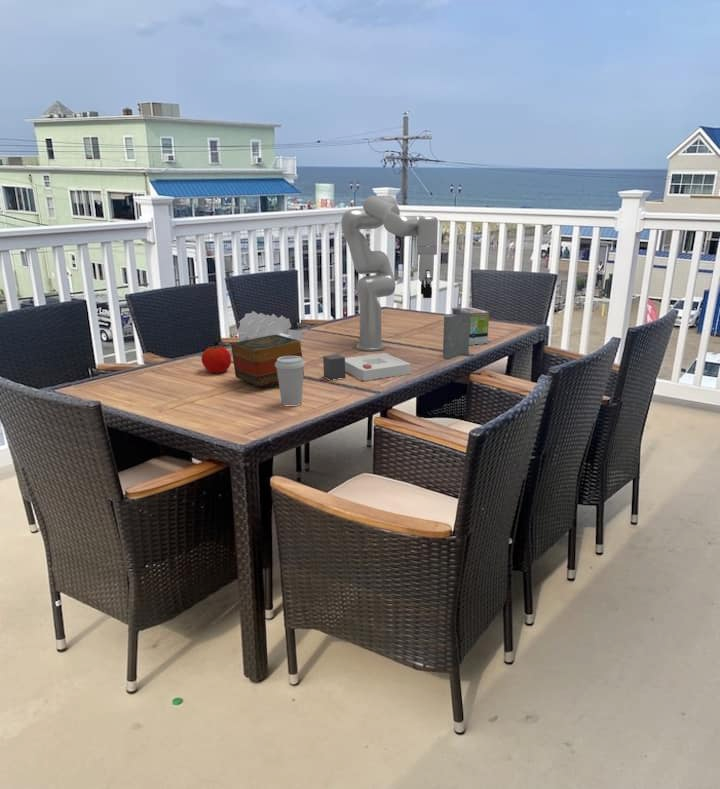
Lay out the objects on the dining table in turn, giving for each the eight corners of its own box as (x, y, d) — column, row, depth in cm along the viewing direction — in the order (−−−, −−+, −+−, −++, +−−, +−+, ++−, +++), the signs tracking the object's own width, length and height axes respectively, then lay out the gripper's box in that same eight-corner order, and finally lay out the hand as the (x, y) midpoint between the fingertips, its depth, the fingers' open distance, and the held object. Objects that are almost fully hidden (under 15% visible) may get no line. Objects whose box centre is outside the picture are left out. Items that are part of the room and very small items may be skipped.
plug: (323, 376, 227) (323, 356, 224) (338, 374, 229) (337, 354, 227) (330, 380, 222) (329, 359, 219) (345, 378, 224) (344, 357, 222)
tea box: (488, 343, 276) (490, 311, 271) (469, 345, 272) (470, 313, 268) (470, 337, 289) (472, 306, 285) (452, 339, 286) (453, 307, 281)
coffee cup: (307, 398, 202) (305, 354, 197) (305, 408, 192) (304, 362, 188) (278, 399, 201) (276, 355, 197) (275, 408, 192) (272, 362, 188)
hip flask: (447, 359, 249) (449, 310, 243) (439, 357, 252) (441, 309, 246) (469, 352, 260) (472, 305, 254) (462, 351, 263) (463, 304, 257)
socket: (340, 368, 237) (339, 356, 236) (384, 362, 246) (384, 350, 244) (363, 381, 220) (363, 368, 219) (410, 374, 229) (411, 361, 227)
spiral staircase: (282, 370, 252) (242, 358, 266) (309, 345, 261) (269, 335, 276) (267, 334, 240) (226, 324, 255) (295, 310, 249) (255, 301, 264)
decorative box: (307, 386, 218) (308, 341, 214) (248, 391, 207) (248, 342, 203) (284, 376, 235) (285, 333, 231) (229, 380, 224) (229, 335, 221)
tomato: (229, 366, 243) (227, 341, 240) (234, 374, 232) (232, 348, 229) (200, 369, 239) (198, 343, 236) (204, 377, 228) (202, 350, 225)
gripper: (415, 249, 238) (414, 292, 243) (418, 252, 221) (418, 299, 227) (434, 248, 238) (433, 292, 243) (439, 252, 221) (438, 299, 227)
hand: (426, 296), depth 235 cm, fingers open, 9 cm apart
